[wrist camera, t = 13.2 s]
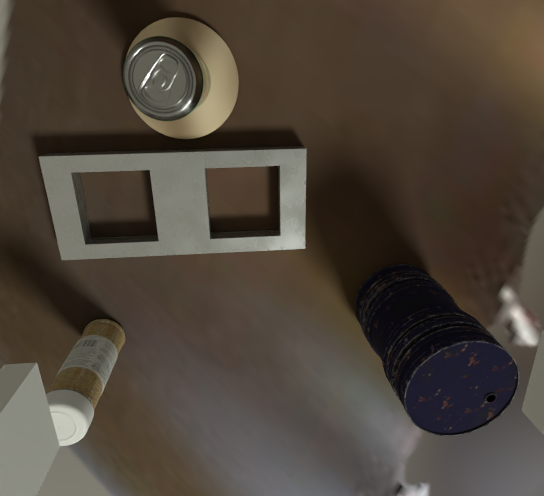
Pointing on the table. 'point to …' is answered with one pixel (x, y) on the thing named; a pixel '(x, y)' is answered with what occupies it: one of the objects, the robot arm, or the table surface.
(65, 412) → the sprinkles bottle
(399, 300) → the dark blue canister
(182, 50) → the soda can
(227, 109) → the coaster
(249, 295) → the table surface
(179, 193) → the white flat rectangular frame
